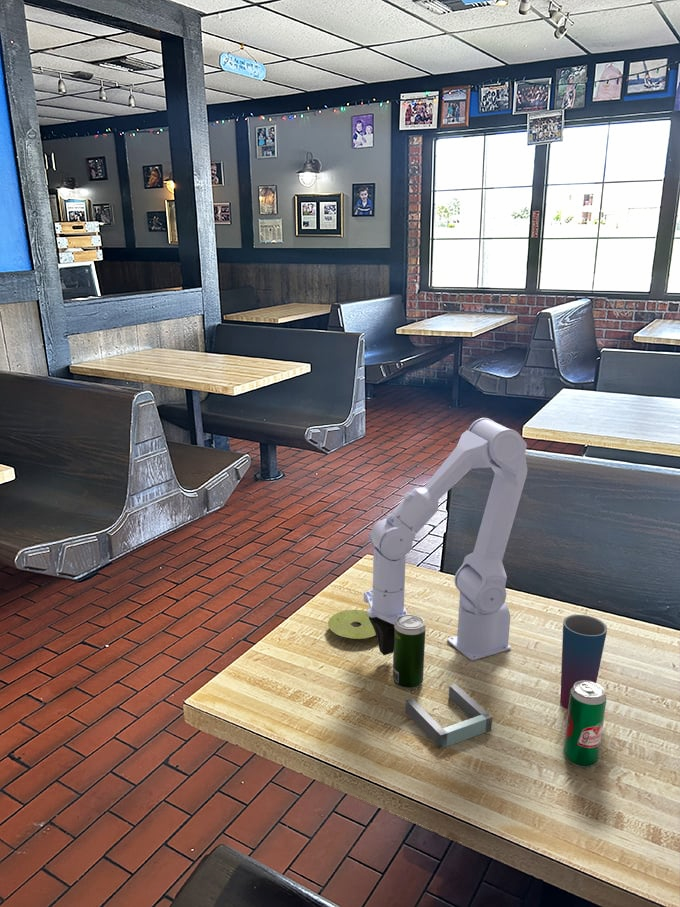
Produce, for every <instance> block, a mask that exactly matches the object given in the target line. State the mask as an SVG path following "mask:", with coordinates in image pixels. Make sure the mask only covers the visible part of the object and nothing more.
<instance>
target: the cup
mask: <svg viewBox="0 0 680 907" xmlns="http://www.w3.org/2000/svg"><path fill="white" fill-rule="evenodd" d="M607 632H608V627H607V625H606V624H605V623H604V622H603V621H602V620H600V619H599V618H597V617H594V616H590V615H586V614H570V615H568V616H566V617H565V618H564V619H563V622H562V647H561V667H560V669H561V671H560V674H561V676H560V695H559V696H560V700H559V702H560V705H561V707H563V708H564V709H565V710H567V711H568V706H569V697H570V690H571V689H572V688H573V686H574V684H575V683H576V682H577V681H581V680H587V681H592V682H595V683H597V680H598V676H599V671H600V668H601V667H600V666H601V662H602V657H603V652H604V649H605V648H604V647H605V643H606V638H607V634H608V633H607Z"/></svg>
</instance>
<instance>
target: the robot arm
mask: <svg viewBox="0 0 680 907" xmlns="http://www.w3.org/2000/svg"><path fill="white" fill-rule="evenodd" d="M527 448H528V444H527V443H526V441H525V439H524V438H523V437H522V436H521V434H520V433H519V432H518V431H516V430H515V429H512V428H508V427H506V426H504V425H502V424H500V423H497V422H495V421H494V420H493V419H491V418H488V417H481V418H478V419H476V420H474V421H473V422H472V423H471V424H470V426H469V427H468V429H467V430H465V431H464V432H463V433H462V434H461V435H460V437H459V441H458V443H457V445H456V447H454V449H453V451H451V453H450V454H449V455H448V456H447V458H446V459H445V460H444V462H443V463H442V464H441V465H440V466H439V468H438V469H437V470H436V471H435V472H434V473H433V475H432V476H431V477H430V479H429V480H428V481H427V482H426V484H425V485H424V486H421V487H415V488H413V489H412V490H410V492H409V491H406V493H405V494H403V499H402V500H401V502H400V503H399V504H398V505H397V506H396V507H395V508H394V509H393V510H392V512H391V513H388V514H387V515H386V516H385V517H384V518H383V519H380V520H378V521H377V522H376V523H375V524H374V525H373V526H372V528H371V532H369V533H368V539H369V542H370V543H371V544H372V545H373V546H374V547H373V561H372V565H373V566H372V589H370V590H366V591H363V602H364V603H367V604H368V606H369V608H368V609H367V610H366V611H367V614H368V615H369V620H370V622H371V624H372V626H373V628H374V630H375V633H376V635H375V637H376V640H377V645H378V648H379V652H380V653H381V654H382V655H383V656H387V655H391V654H393V648H394V625H395V623H396V619H397V618H398V617H399V616H401V615H407V614H408V612H407V609H406V606H405V585H406V558H407V557H406V556H407V555H408V554H409V553H410V552H411V551H412V548H413V543H414V542H413V541H414V540H415V539H416V535H417V534H418V533H419V532H420V531H421V529H423V527H425V525H426V524H427V523H428V522H429V521H430V520H431V519H432V518H433V517H434V516H435V514H436V513H437V512H438V511H439V500H440V499H441V498H442V497H443V496H444V495H446V493H448V492H449V490H451V488H453V487H454V486H455V485H456V483H458V482H459V481H460V480H461V479H463V477H464V476H465V475H466V474H467V473H468V472H469V471H470V470H472V469H485V468H491V470H492V471H493V472H494V476H493V479H492V483H491V487H490V490H489V494H488V498H487V502H486V504H485V507H484V513H483V517H482V519H481V523H480V526H479V529H478V532H477V538H476V540H475V544H474V549H473V552H471V553H469V554H467V555H465V556H464V559H463V563H462V565H461V566H459V568H458V570H457V571H456V572H455V575H454V581H453V582H454V585H455V587H456V589H457V590H458V591H459V602H458V603H459V604H458V619H457V632H456V633H457V635H456V636H455V635H454V636H452V637H449V638H447V642H448V644H450V645H452V646H453V647H454V648H455V649H456V650H458V652H460V653H461V654H462V655H464V656H465V657H466V658H468V659H469V661H477V660H479V659H482V658H486V657H489V656H493V655H495V654H499V653H502V652H505V651H509V650H510V649H511V648H512V646H511V645H510V644H509V639H510V638H509V637H510V627H511V626H510V625H511V613H510V610H509V606H508V605H507V603H506V599H507V590H506V585H507V584H506V583H507V580H508V577H507V573H506V571H505V567H504V563H503V559H504V556H505V552H506V549H507V546H508V541H509V538H510V535H511V531H512V528H513V524H514V521H515V517H516V514H517V510H518V507H519V503H520V500H521V496H522V493H523V490H524V485H525V482H526V479H527V475H528V464H527V463H528V462H527V459H526V451H527Z"/></svg>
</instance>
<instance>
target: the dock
mask: <svg viewBox="0 0 680 907" xmlns="http://www.w3.org/2000/svg"><path fill="white" fill-rule="evenodd" d="M448 699H449V701H451V702H452V703H453V704H454V705H455V706H456V707H457V708H459V710H460V711H461V712H463V713H464V714H465V715H466V716H467V717H468V718H469V719H465V720H463V721H460V722H457V723H454V724H451V725H449V726H446V727H442V726H441V725H440V724H439V723H438V722H437V721H436V719H434V718H433V717H432V716H431V715H430V714H429V713H428V712H427V711H426V710H425V709H424V708H423V707H422V706H421V705H420V704H419V702H417V700H415V698H413V697H410V698H406V699H405V707H404V708H405V710H404V711H405V714H406V715H407V717H409V718H410V719H411V720H412V722H413V723H414V724H415V725H417V727H418V728H419V729H420V730H421V731H422V732H423V733H424V734H425V735H426V736H427V737H428V739H430V740H431V741H432V743H434V745H435V746H436V747H437V748H438V749H439V750H442V749H444V748H447V747H450V746H452V745H455V744H457V743H460V742H463V741H466V740H469V739H473V738H474V737H477V736H479V735H481V734H482V735H483V734H485V733H488V732H489V731H490V732H491V731H492V728H493V716H492V715H491V714H490V713H489V712H488V711H487V710H486V709H485V708H484V707H483V706H481V705H480V704H478V702H476V701H475V700H474V699H473V698H472V697H471V696H470V695H469V694H467V693H466V691H464V690H463V689H462V688H461V687H459V686H458V685H457V684H456V683H453V684H450V685H449V686H448Z"/></svg>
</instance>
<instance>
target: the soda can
mask: <svg viewBox="0 0 680 907" xmlns="http://www.w3.org/2000/svg"><path fill="white" fill-rule="evenodd" d="M606 705H607V696H606V694H605V689H604V687H602V686H601V685H600V684H599V683H597V682H596V683H595V682H592V681H587V680H581V681H577V682H576V683H575V684H574V686H573V688H572V689H571V690H570V697H569V706H568V710H567V715H566V716H567V717H566V726H565V733H564V734H565V735H564V743H563V749H562V750H563V752H562V753H563V755H564V757H565V758H566V759H567V760H568V761H569V762H570V763H571V764H572V765H575V766H578V767H581V768H589V767H592V766H594V765H595V764H597V763H598V762H599V759H600V752H601V742H602V736H603V735H602V734H603V727H604V720H605V713H606Z"/></svg>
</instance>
